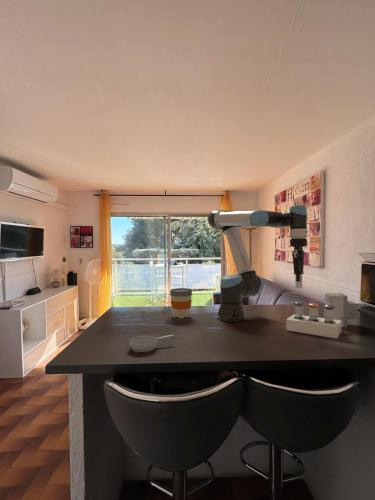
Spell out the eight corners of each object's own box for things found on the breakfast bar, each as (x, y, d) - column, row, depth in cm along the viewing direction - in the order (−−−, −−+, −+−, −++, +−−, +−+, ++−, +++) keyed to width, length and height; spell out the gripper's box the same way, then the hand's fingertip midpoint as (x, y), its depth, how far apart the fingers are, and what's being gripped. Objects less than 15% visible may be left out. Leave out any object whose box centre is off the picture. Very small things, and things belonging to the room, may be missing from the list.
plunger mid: (307, 323, 128) (307, 304, 128) (309, 321, 131) (309, 302, 131) (317, 325, 125) (317, 305, 125) (319, 322, 129) (319, 303, 129)
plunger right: (322, 325, 124) (322, 306, 124) (324, 323, 128) (324, 304, 128) (334, 327, 122) (333, 307, 121) (335, 325, 125) (335, 305, 125)
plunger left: (292, 321, 132) (292, 302, 132) (295, 319, 135) (295, 301, 135) (302, 322, 129) (302, 303, 129) (304, 320, 133) (304, 302, 133)
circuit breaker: (361, 327, 132) (361, 296, 132) (329, 326, 135) (328, 295, 135) (355, 323, 140) (355, 293, 139) (324, 322, 143) (324, 292, 142)
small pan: (127, 346, 112) (126, 336, 112) (169, 339, 119) (169, 330, 119) (133, 356, 102) (132, 345, 102) (178, 348, 109) (178, 338, 109)
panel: (286, 330, 130) (286, 319, 130) (293, 324, 139) (293, 314, 139) (337, 338, 117) (337, 326, 117) (341, 331, 127) (341, 320, 127)
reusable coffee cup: (196, 315, 160) (196, 289, 160) (184, 320, 150) (184, 292, 150) (178, 312, 167) (178, 287, 167) (165, 317, 157) (165, 290, 156)
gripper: (303, 237, 124) (303, 290, 124) (310, 238, 135) (310, 287, 135) (286, 238, 129) (286, 289, 129) (294, 238, 139) (294, 285, 139)
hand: (298, 288), depth 132 cm, fingers closed
